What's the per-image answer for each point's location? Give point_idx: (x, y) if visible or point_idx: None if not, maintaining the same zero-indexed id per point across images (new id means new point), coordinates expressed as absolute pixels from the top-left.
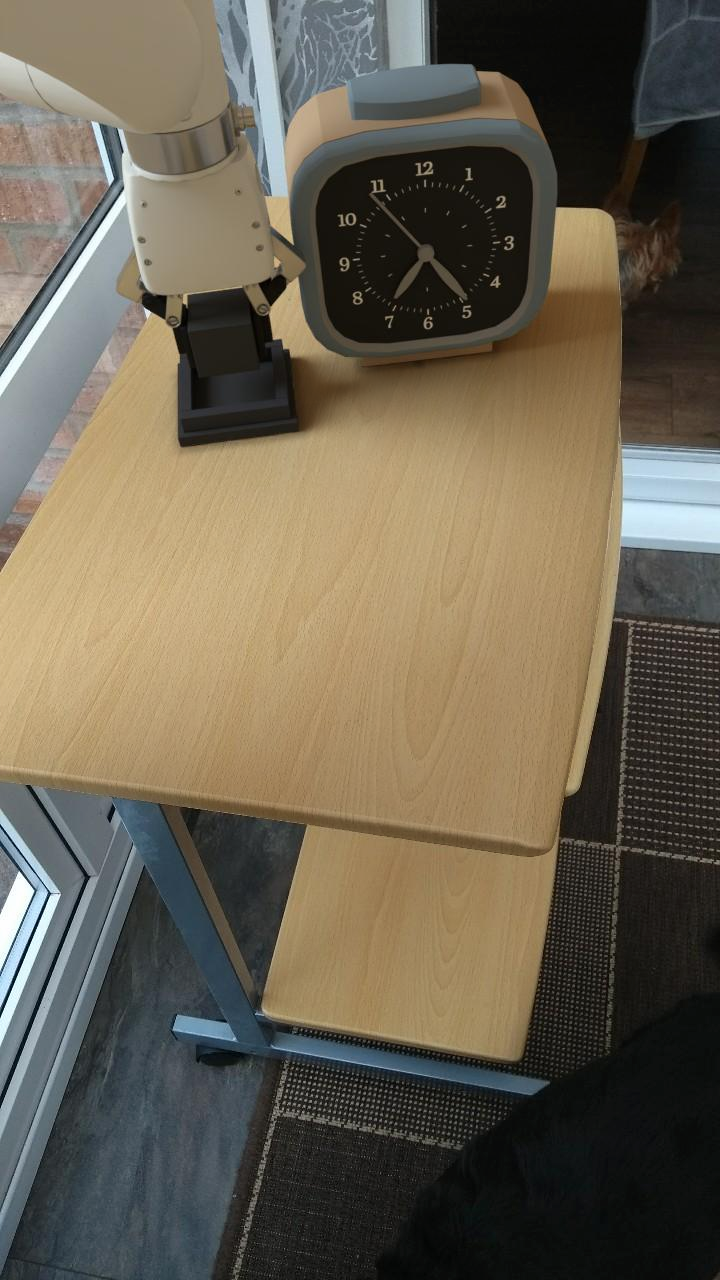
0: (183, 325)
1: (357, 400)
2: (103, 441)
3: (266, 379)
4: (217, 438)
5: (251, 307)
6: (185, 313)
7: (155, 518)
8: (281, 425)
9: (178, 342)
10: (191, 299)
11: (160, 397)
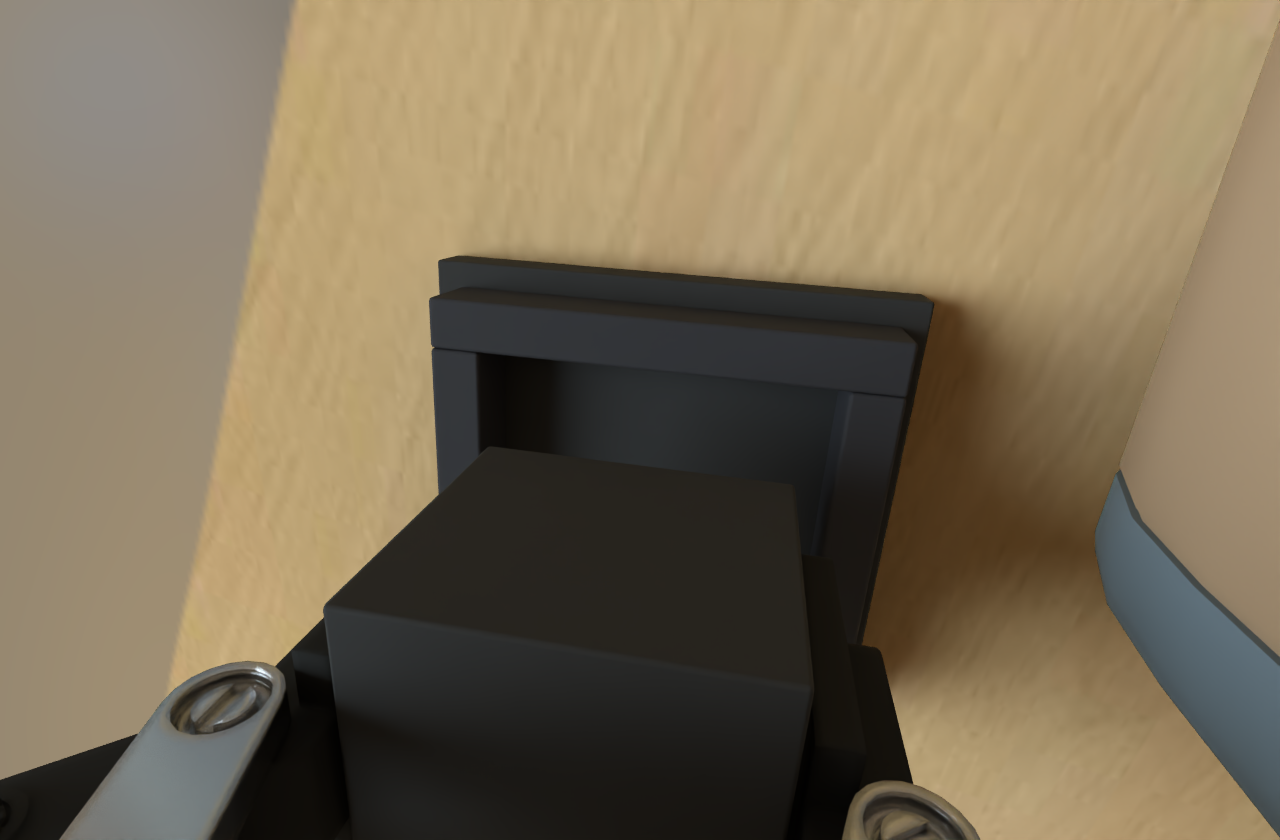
0: (338, 835)
1: (1099, 620)
2: (247, 526)
3: (786, 475)
4: None
5: (788, 835)
6: (333, 778)
7: None
8: None
9: None
10: (358, 672)
11: (396, 379)
